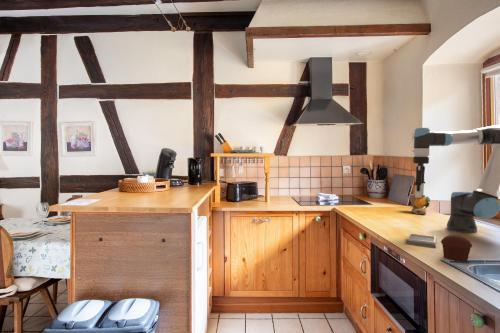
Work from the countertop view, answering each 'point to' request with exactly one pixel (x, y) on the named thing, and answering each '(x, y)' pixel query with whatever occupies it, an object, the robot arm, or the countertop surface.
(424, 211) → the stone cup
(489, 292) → the countertop surface
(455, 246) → the muffin
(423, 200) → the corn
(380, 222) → the countertop surface
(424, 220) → the countertop surface
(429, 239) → the board
